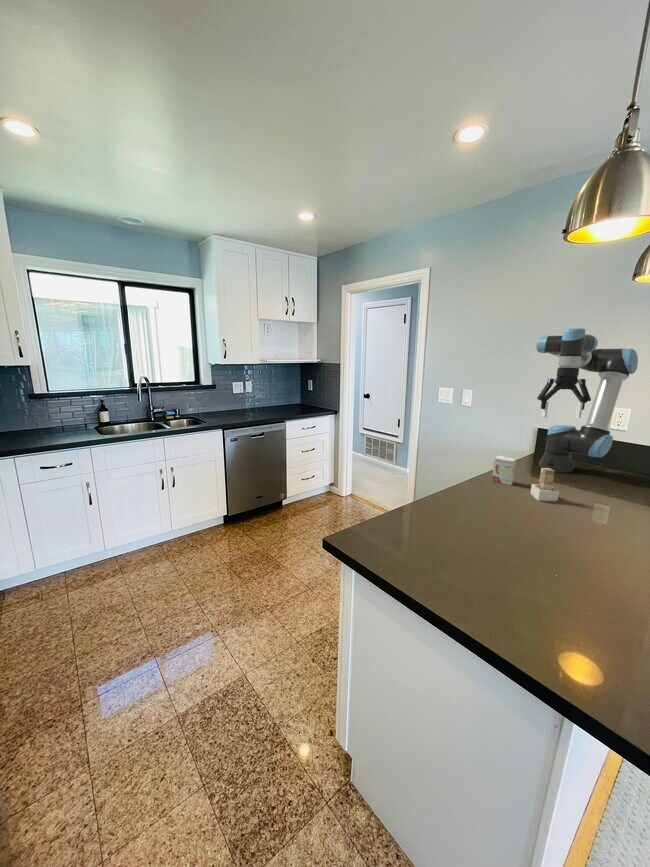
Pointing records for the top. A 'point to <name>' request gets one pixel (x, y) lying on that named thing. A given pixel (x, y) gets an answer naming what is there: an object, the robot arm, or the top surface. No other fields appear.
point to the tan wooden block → (546, 479)
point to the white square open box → (544, 494)
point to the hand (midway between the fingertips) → (560, 417)
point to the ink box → (504, 470)
